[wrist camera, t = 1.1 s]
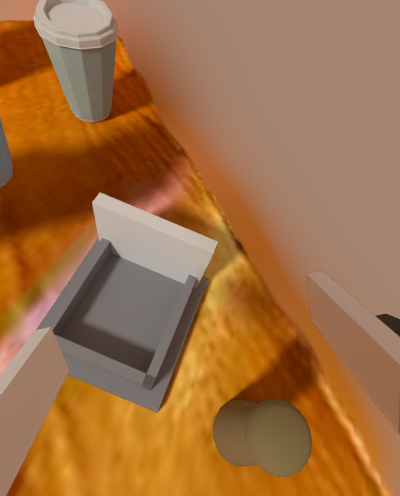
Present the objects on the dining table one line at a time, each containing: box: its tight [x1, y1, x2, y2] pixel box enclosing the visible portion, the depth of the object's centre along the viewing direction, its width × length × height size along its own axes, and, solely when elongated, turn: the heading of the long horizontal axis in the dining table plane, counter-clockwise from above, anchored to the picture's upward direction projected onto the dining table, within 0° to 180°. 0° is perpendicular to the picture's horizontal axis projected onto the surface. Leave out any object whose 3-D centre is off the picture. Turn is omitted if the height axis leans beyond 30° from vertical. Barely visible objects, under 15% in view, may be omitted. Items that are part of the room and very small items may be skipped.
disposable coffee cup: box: [33, 0, 118, 122], centre depth 44 cm, size 11×11×15 cm
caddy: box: [37, 193, 218, 413], centre depth 30 cm, size 16×15×10 cm
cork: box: [213, 399, 312, 477], centre depth 26 cm, size 6×6×11 cm
